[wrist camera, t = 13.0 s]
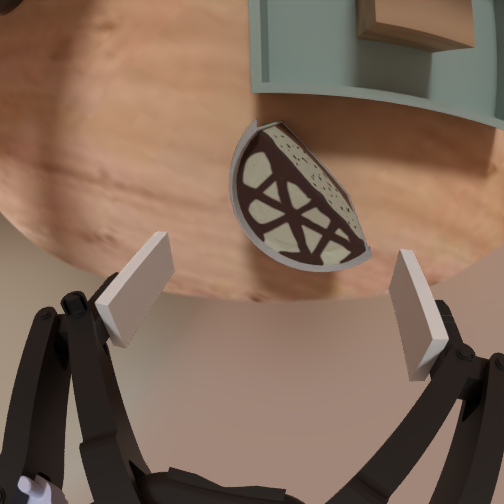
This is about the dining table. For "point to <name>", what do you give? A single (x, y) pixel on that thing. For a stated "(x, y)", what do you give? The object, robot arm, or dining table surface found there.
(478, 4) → the tote
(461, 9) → the walnut block
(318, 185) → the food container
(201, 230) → the dining table surface
